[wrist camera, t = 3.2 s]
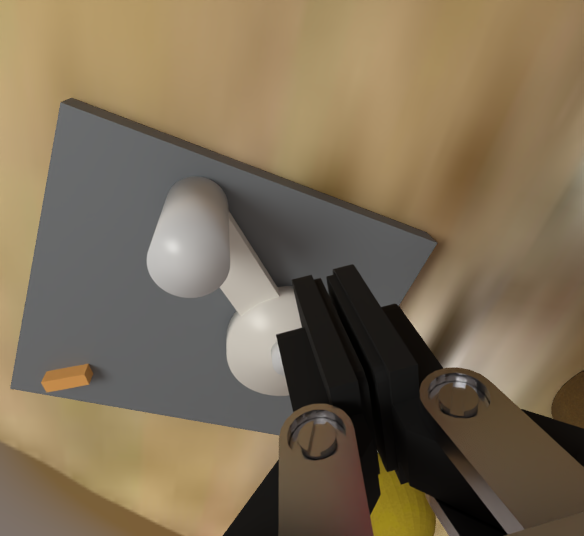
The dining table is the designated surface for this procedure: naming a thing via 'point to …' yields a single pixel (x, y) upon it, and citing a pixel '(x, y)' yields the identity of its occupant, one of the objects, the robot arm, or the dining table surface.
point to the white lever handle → (224, 279)
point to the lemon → (401, 508)
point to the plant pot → (570, 402)
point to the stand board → (155, 301)
